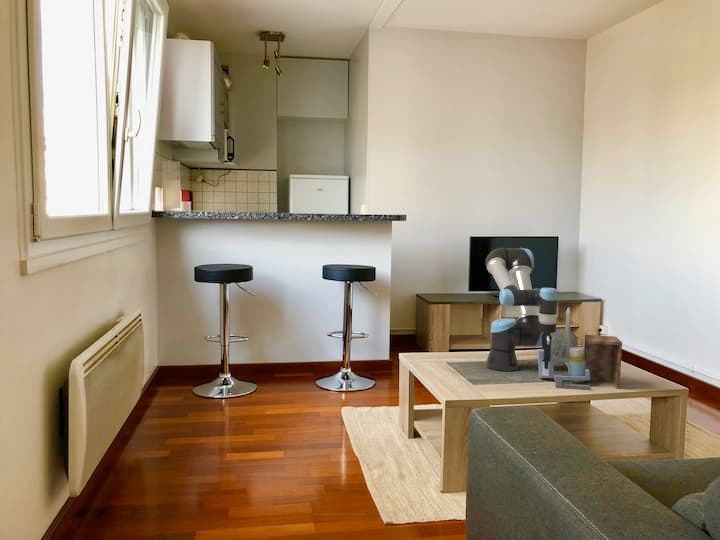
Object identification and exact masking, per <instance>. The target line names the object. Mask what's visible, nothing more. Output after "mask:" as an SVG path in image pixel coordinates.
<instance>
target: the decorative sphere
mask: <svg viewBox="0 0 720 540" xmlns="http://www.w3.org/2000/svg"><path fill="white" fill-rule="evenodd" d="M564 332H565V327H560V328H556V332H554V333H550V335H551V336H552V340H551V341H552V342H551V349H552V351H553V355H555V356H557V355H558V353H559V351H560V349H561V346H562V345H561V344H562V343H563V338H564ZM570 333H571V344H573V345H572V347H579V344H578V343H579V342H578V341H579V340H578V338H577V336H576V334H575V333H574V332H573V331H572V330H570Z"/></svg>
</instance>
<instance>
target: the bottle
mask: <svg viewBox="0 0 720 540" xmlns="http://www.w3.org/2000/svg"><path fill="white" fill-rule="evenodd" d="M584 353H585V352H584V347H583V346H577V347H570V356H569V370H568V372H569V373H568V376H585V369H586V358H585V356H584V355H585V354H584ZM569 381H570V382H571V383H572V384H573V383H574V384H584V383H586V381H587V380H569Z"/></svg>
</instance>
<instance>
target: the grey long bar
mask: <svg viewBox="0 0 720 540" xmlns="http://www.w3.org/2000/svg"><path fill="white" fill-rule="evenodd" d="M562 376H563V375H561V374H560V375H559V374H557V375H556V380H554V381H555V384H554V386H555V389H569V390H582V391H591V385H587V384H585V385H584V384H576V383H574V384H573V383H563V380H562Z"/></svg>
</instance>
